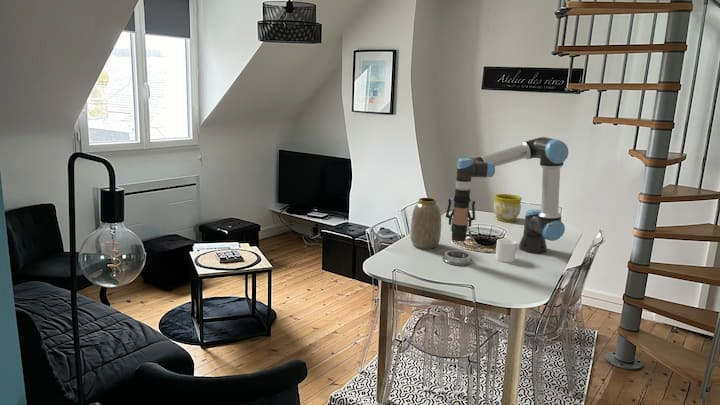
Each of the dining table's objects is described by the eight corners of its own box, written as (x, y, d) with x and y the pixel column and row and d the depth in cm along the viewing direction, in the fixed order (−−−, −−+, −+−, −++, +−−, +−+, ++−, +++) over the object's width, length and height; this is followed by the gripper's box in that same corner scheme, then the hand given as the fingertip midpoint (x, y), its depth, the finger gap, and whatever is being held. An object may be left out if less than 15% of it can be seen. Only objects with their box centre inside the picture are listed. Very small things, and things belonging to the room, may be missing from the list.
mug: (509, 264, 275) (511, 245, 272) (491, 259, 281) (493, 241, 279) (519, 258, 284) (521, 240, 282) (502, 254, 290) (504, 236, 288)
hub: (472, 258, 282) (472, 251, 282) (471, 267, 268) (471, 260, 267) (444, 254, 286) (444, 248, 285) (441, 263, 272) (442, 257, 271)
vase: (443, 243, 306) (446, 198, 300) (434, 251, 291) (437, 204, 284) (415, 239, 313) (418, 195, 307) (405, 246, 298) (407, 200, 291)
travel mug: (465, 242, 270) (469, 204, 265) (450, 240, 271) (453, 203, 267) (466, 237, 277) (469, 201, 273) (451, 236, 279) (454, 199, 274)
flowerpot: (493, 222, 356) (495, 198, 352) (491, 215, 374) (493, 193, 370) (520, 224, 353) (523, 200, 350) (517, 217, 371) (520, 194, 367)
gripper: (483, 189, 269) (479, 231, 275) (443, 185, 274) (440, 227, 279) (483, 191, 262) (479, 235, 267) (441, 188, 267) (438, 231, 272)
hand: (459, 231), depth 273 cm, fingers closed on travel mug, 8 cm apart
